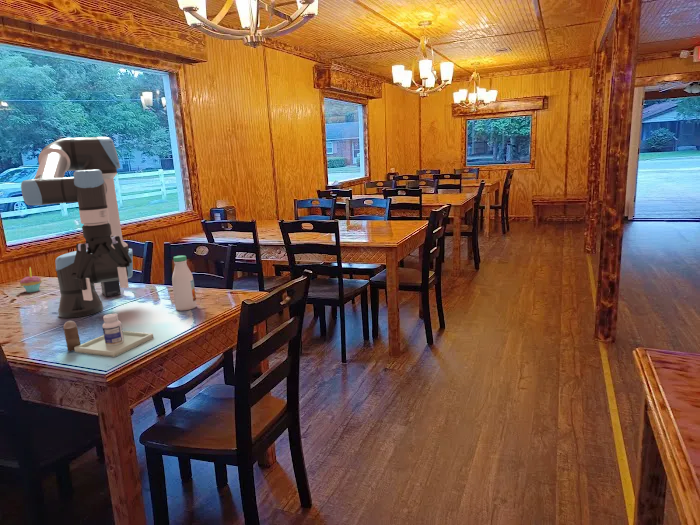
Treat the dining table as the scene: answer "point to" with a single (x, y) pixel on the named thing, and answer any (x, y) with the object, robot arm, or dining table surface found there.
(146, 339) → the tray
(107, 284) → the small box
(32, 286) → the cupcake
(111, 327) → the pill bottle
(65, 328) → the pepper shaker
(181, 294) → the milk bottle
